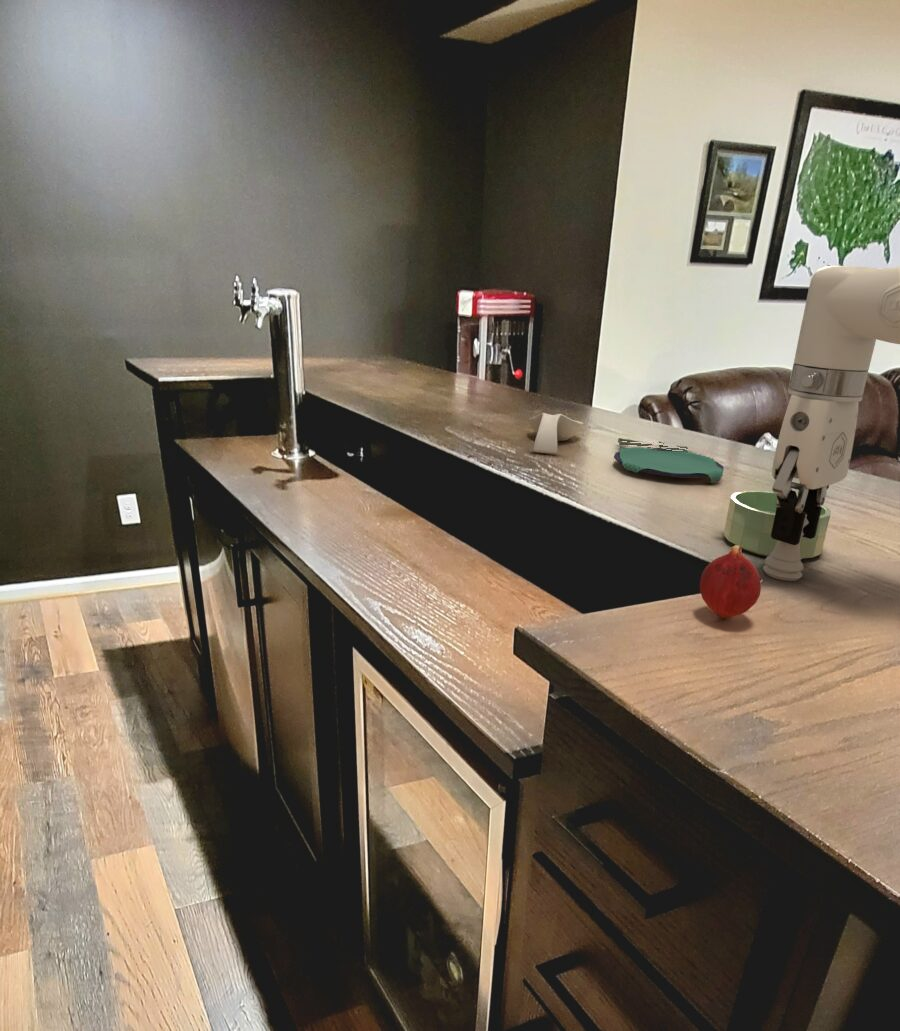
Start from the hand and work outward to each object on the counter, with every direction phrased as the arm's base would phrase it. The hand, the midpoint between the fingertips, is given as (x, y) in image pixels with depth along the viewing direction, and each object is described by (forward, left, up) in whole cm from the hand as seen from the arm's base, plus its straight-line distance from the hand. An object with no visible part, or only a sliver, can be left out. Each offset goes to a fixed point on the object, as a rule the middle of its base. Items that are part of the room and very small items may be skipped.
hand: (792, 536), depth 86 cm
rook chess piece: (0, 0, -5) cm, 5 cm away
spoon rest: (+25, -67, -5) cm, 72 cm away
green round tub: (-2, -11, -5) cm, 12 cm away
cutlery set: (+4, -55, -5) cm, 55 cm away
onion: (+11, +14, -5) cm, 19 cm away
